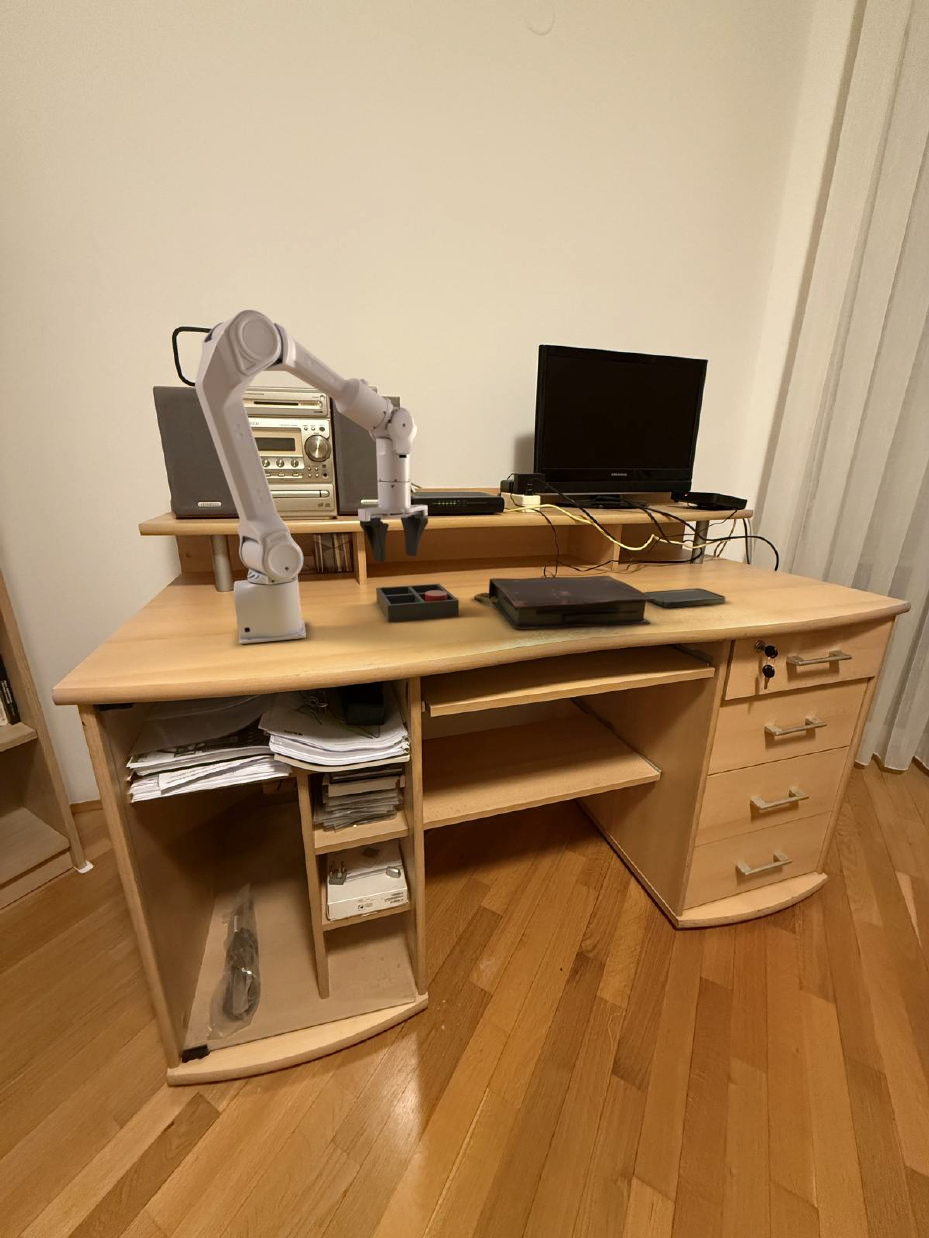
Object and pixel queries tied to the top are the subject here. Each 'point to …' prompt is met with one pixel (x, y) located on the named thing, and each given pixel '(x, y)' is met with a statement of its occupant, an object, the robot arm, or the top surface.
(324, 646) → the top surface
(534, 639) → the top surface
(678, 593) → the phone
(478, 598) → the seal
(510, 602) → the diary
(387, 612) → the tray
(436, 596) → the red short cylinder
